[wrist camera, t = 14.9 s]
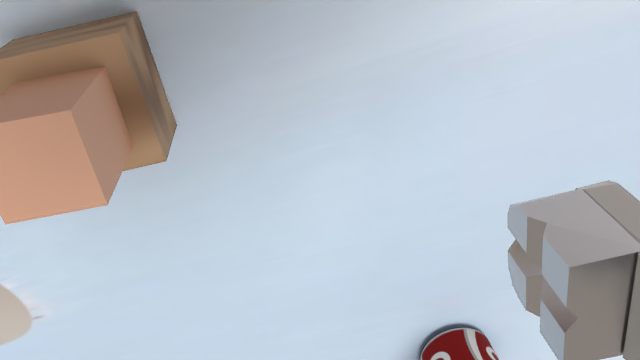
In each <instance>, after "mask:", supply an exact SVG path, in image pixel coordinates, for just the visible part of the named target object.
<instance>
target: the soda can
mask: <svg viewBox="0 0 640 360" xmlns="http://www.w3.org/2000/svg"><path fill="white" fill-rule="evenodd" d="M420 360H499V359H498V357H497V356H496V354H495V352H494V350H493V348H492V346H491V344H490V343H489V341H488V339H487V338H486V336H485V335H484V334H482V333H481V332H479V331H477V330H474V329H470V328H455V329H450V330H447V331H444V332H442V333H440V334H438V335H437V336H435V337H434V338H433V339H431V340H430V341H429V342H428V343H427V345H426V346H425V347H424V349H423V351H422V353H421V357H420Z"/></svg>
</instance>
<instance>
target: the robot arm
mask: <svg viewBox="0 0 640 360" xmlns="http://www.w3.org/2000/svg"><path fill="white" fill-rule="evenodd" d="M508 229H509V230H510V232H511V233H512V234H513V236H514V237H515V239H516V240H515V241H514V243H513V244H512V245H511V247H510V248H509V250H508V267H509V272H510V276H511V280H512V284H513V287H514V289H515V291H516V293H517V296H518V298H519V300H520V301H521V303H522V304H523V306H524V308H525V309H526V310H527V311H529V312H531V313H533V314H535V315H537V316H539V317H540V333H541V334H542V336H543V337H544V339H545V340H546V342H547V343H548V345H549V346H550V348H551V350H552V351H553V353H554V354H555V356H556V357H557V359H558V360H600V359H605V358H610V357H615V356H619V355H623V358H624V359H625V360H640V201H639V200H637V199H636V198H635V197H634V196H633V195H631V194H630V193H629V192H628V191H627V190H625V189H624V188H623V187H622V186H621V185H619V184H618V183H616V182H613V181H609V180H608V181H604V182H600V183H596V184H592V185H588V186H584V187H580V188H576V189H575V190H573V191H568V192H564V193H560V194H555V195H551V196H547V197H542V198H538V199H534V200H529V201H525V202H521V203H516V204H512V205H510V208H509V211H508Z"/></svg>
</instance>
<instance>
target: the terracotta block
mask: <svg viewBox="0 0 640 360" xmlns="http://www.w3.org/2000/svg"><path fill="white" fill-rule="evenodd" d="M132 148H133V145H132V142H131V139H130V136H129V133H128V130H127V128H126V125H125V122H124V119H123V116H122V113H121V110H120V107H119V104H118V102H117V99H116V96H115V93H114V90H113V87H112V84H111V81H110V78H109V76H108V73H107V70H106V67H105V66H104V67H99V68H93V69H88V70H82V71H77V72H71V73H66V74H60V75H55V76H49V77H44V78H38V79H33V80H27V81H22V82H16V83H15V84H13V85H12V86H11V87H10V88H9V89H7V90H6V91H5V92H4V93H3V94H2V95H0V215H1V217H2V219H3V221H4V223H5V224H10V223H15V222H20V221H25V220H31V219H36V218H41V217H46V216H52V215H57V214H62V213H67V212H73V211H78V210H83V209H88V208H94V207H99V206H104V205H108V202H109V200H110V198H111V196H112V193H113V191H114V189H115V187H116V184H117V182H118V180H119V178H120V175H121V173H122V171H123V168H124V166H125V164H126V162H127V159H128V157H129V155H130V153H131V150H132Z"/></svg>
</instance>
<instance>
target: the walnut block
mask: <svg viewBox="0 0 640 360" xmlns="http://www.w3.org/2000/svg"><path fill="white" fill-rule="evenodd" d="M104 66H105V67H106V70H107V73H108V76H109V78H110V81H111V84H112V87H113V90H114V93H115V96H116V99H117V102H118V104H119V107H120V110H121V113H122V116H123V119H124V122H125V125H126V128H127V130H128V133H129V136H130V139H131V142H132V145H133V148H132V150H131V153H130V155H129V157H128V159H127V162H126V164H125V166H124V168H123V171H125V170H129V169H134V168H138V167H142V166H147V165H151V164H156V163H160V162H164V161H166V160H167V157H168V153H169V150H170V147H171V143H172V140H173V136H174V133H175V129H176V126H177V125H176V122H175V119H174V116H173V113H172V110H171V108H170V105H169V102H168V99H167V96H166V93H165V90H164V87H163V85H162V82H161V79H160V76H159V73H158V70H157V67H156V65H155V62H154V59H153V56H152V53H151V50H150V47H149V45H148V42H147V39H146V36H145V33H144V30H143V27H142V25H141V22H140V19H139V16H138V13H137V12H133V13H129V14H124V15H120V16H115V17H111V18H107V19H102V20H98V21H93V22H89V23H85V24H80V25H76V26H71V27H67V28H62V29H58V30H54V31H49V32H45V33H40V34H36V35H32V36H27V37H23V38H18V39H14V40H12V41H11V42H9V43H8V44H6V45H5V46H3V47H2V48H0V95H2V94H3V93H4V92H5V91H6V90H7V89H9V88H10V87H11V86H12V85H13V84H15V83H16V82H22V81H27V80H33V79H38V78H44V77H49V76H55V75H60V74H66V73H71V72H77V71H82V70H88V69H93V68H99V67H104Z"/></svg>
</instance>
